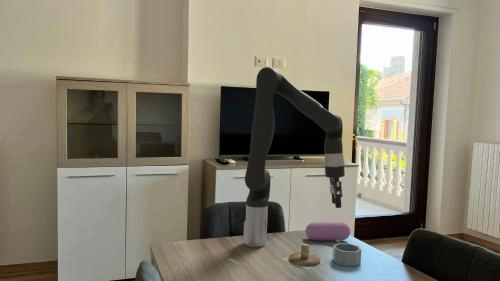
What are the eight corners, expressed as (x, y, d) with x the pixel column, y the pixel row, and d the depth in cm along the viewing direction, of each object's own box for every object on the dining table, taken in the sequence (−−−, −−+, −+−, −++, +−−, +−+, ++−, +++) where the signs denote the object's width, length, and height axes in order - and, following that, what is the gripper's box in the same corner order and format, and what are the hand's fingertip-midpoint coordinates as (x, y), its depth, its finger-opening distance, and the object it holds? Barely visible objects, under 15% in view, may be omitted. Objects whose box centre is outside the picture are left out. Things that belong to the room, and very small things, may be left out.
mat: (280, 260, 158) (280, 259, 158) (301, 253, 167) (302, 252, 167) (307, 270, 149) (307, 269, 148) (328, 262, 158) (328, 261, 157)
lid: (282, 259, 158) (283, 244, 157) (302, 252, 166) (302, 238, 166) (307, 268, 149) (307, 252, 149) (326, 261, 157) (327, 246, 157)
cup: (328, 261, 158) (328, 246, 158) (342, 256, 165) (343, 241, 165) (350, 269, 151) (351, 254, 151) (364, 263, 158) (365, 248, 158)
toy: (306, 244, 181) (352, 243, 181) (306, 225, 181) (351, 224, 180) (304, 238, 189) (348, 238, 189) (304, 220, 189) (348, 219, 188)
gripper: (322, 163, 168) (324, 202, 168) (327, 167, 154) (329, 209, 154) (340, 162, 168) (343, 201, 168) (347, 165, 153) (349, 208, 154)
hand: (336, 205), depth 161 cm, fingers open, 8 cm apart
